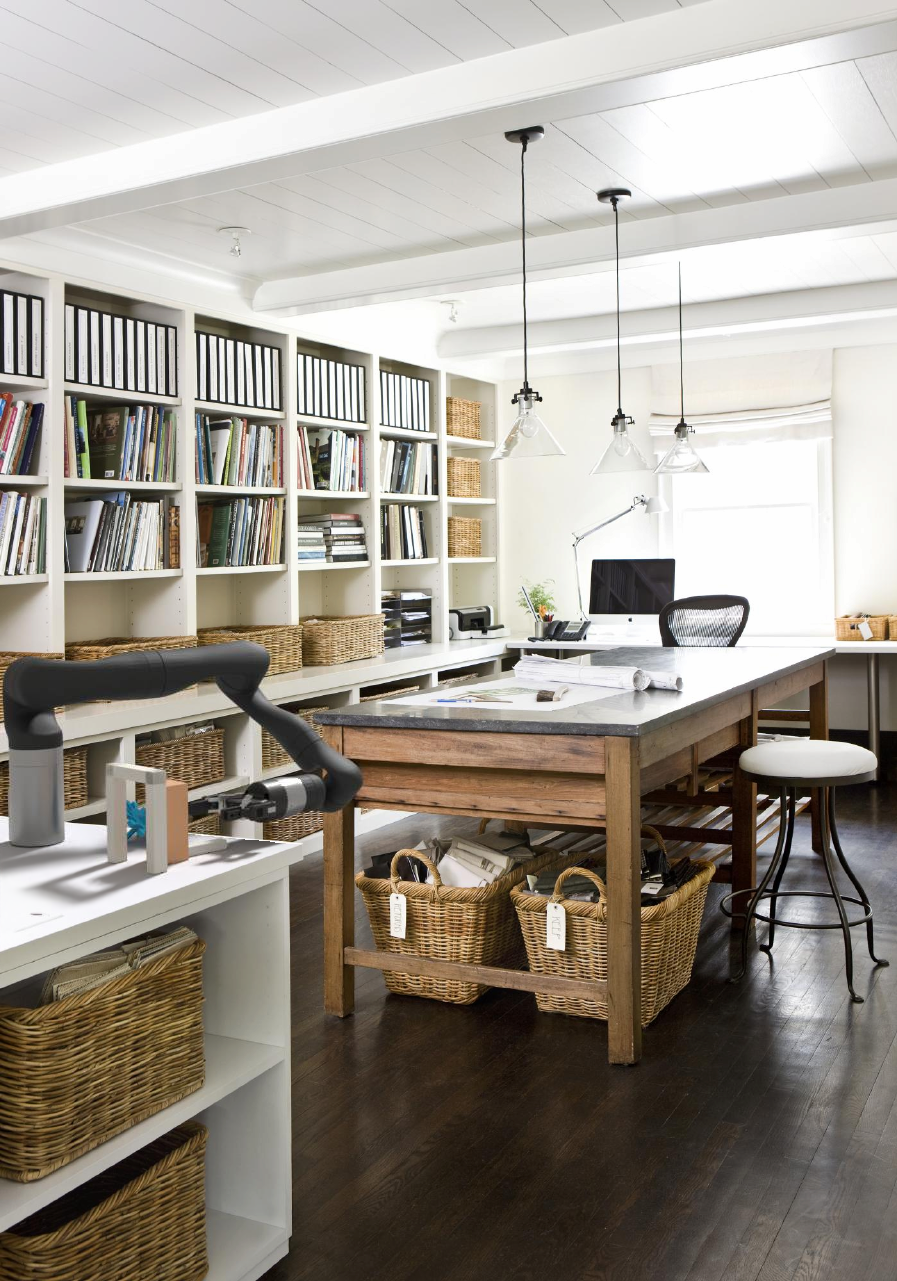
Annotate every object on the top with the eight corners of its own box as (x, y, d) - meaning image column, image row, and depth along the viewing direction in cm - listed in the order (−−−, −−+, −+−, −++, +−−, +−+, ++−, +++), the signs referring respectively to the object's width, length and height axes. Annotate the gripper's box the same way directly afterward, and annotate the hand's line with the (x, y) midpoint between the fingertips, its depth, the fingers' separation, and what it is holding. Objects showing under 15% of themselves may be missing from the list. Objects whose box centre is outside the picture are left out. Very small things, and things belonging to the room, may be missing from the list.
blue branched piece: (151, 840, 200) (115, 798, 202) (128, 864, 201) (92, 821, 203) (177, 835, 211) (143, 795, 213) (155, 857, 212) (121, 817, 213)
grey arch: (107, 861, 193) (105, 763, 192) (120, 858, 195) (118, 761, 194) (154, 874, 184) (153, 772, 183) (167, 871, 186) (166, 770, 185)
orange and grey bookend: (146, 859, 194) (145, 783, 193) (215, 845, 204) (214, 772, 203) (163, 865, 190) (162, 787, 190) (232, 850, 201) (231, 776, 200)
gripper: (302, 824, 208) (232, 840, 195) (250, 813, 217) (180, 828, 204) (302, 783, 207) (231, 796, 195) (250, 774, 216) (179, 786, 204)
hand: (205, 812), depth 200 cm, fingers open, 8 cm apart
